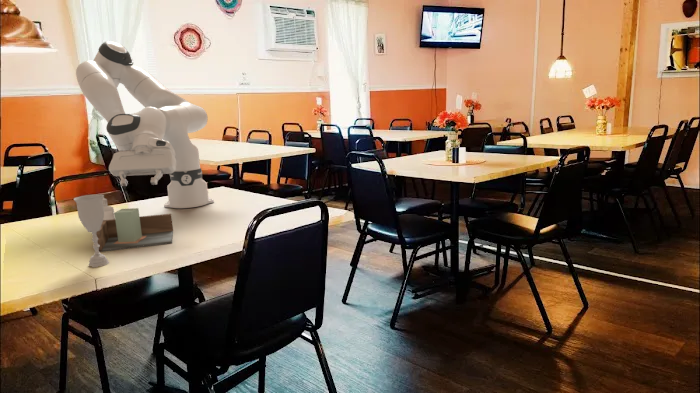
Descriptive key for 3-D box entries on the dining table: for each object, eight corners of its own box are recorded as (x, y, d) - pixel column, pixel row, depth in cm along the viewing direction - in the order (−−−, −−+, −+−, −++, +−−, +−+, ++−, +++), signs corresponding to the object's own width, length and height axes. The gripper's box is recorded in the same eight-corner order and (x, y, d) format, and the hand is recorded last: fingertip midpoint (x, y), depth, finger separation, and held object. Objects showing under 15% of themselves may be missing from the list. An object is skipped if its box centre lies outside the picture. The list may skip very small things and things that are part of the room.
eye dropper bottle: (110, 233, 168) (104, 196, 166) (95, 232, 170) (89, 196, 167) (118, 229, 172) (114, 194, 170) (104, 229, 174) (99, 193, 171)
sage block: (125, 237, 159) (121, 208, 157) (142, 236, 159) (138, 208, 157) (118, 242, 154) (114, 212, 152) (135, 241, 154) (131, 212, 152)
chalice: (98, 258, 142) (89, 194, 138) (119, 260, 140) (110, 194, 136) (77, 267, 135) (67, 199, 131) (99, 269, 133) (88, 200, 129)
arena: (105, 239, 161) (102, 220, 160) (173, 231, 167) (171, 213, 165) (97, 252, 148) (94, 231, 147) (171, 243, 153) (169, 223, 152)
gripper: (110, 144, 167) (100, 180, 159) (174, 141, 167) (167, 176, 159) (118, 156, 172) (109, 191, 164) (180, 153, 172) (173, 188, 164)
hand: (138, 184), depth 162 cm, fingers open, 8 cm apart
